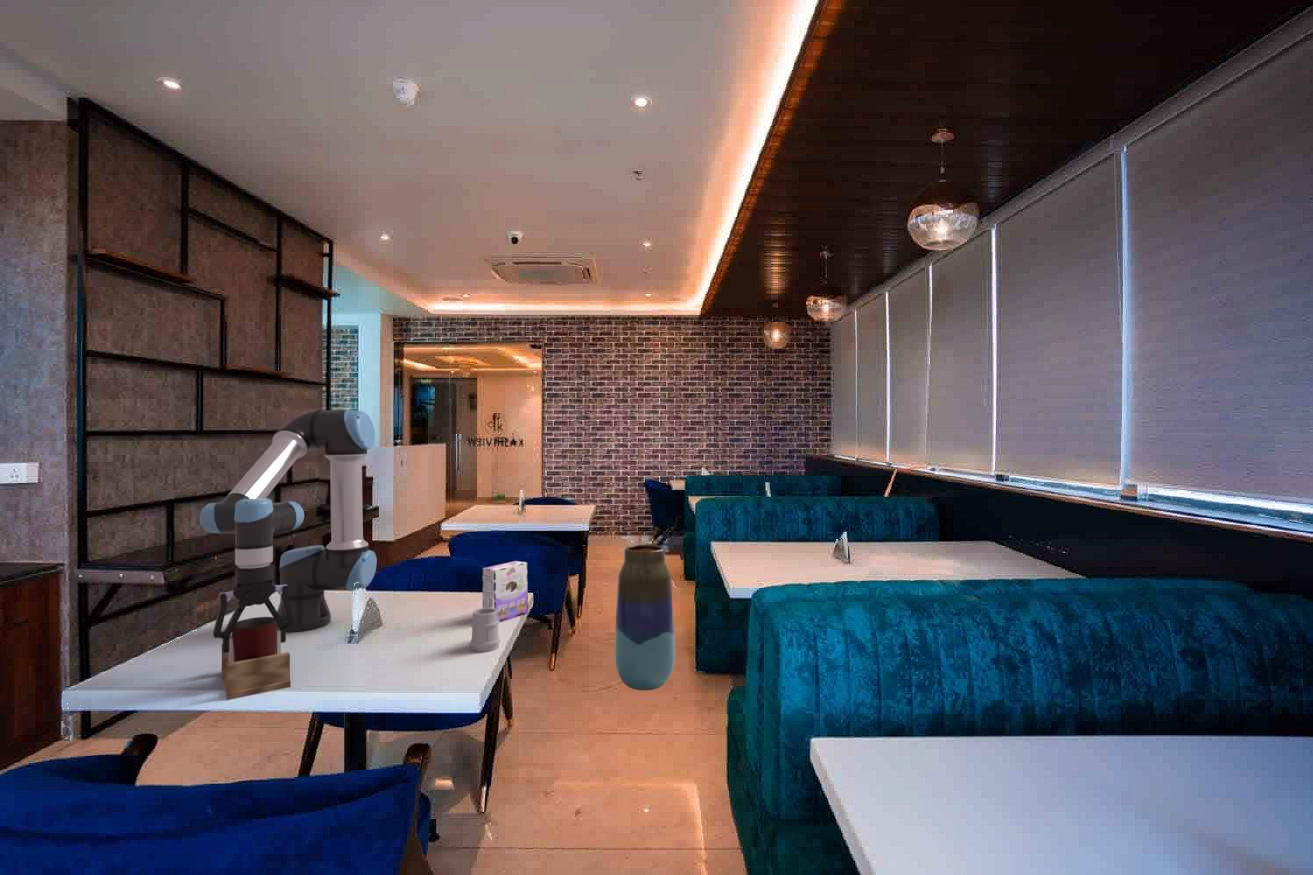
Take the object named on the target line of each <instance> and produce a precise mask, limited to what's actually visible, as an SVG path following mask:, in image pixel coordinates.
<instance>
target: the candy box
mask: <svg viewBox="0 0 1313 875" xmlns="http://www.w3.org/2000/svg"><path fill="white" fill-rule="evenodd" d="M528 581H529V580H528V562H526V561H518V560H514V561H509V562H505V563H501V564H497V565H492V566H488V567H482V608H483V609H484V608H489V602H490V598H491V597H494V605H495V609H496V610H497V617H498V620H499V623H500V622H503V621H506V620H511V619H512V618H513V619H514V618H516V617H519V616H522V615H525V614H528V613H529V600H528V599H529V596H528V595H529V594H528V593H529V589H528V584H529V583H528Z"/></svg>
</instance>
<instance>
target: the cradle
mask: <svg viewBox="0 0 1313 875" xmlns="http://www.w3.org/2000/svg"><path fill="white" fill-rule="evenodd" d="M233 661H234V662H232V663H229V652H227V653H224V651H223V643H221V676H222V677H221V678H222V681H223V685H224V689H225V695H226V700H227V701H230V700H233V699H238V698H243V697H248V696H253V695H257V694H262V693H267V692H271V691H276V690H281V689H287V688H290V687H291V682H292V681H291V654H290V652H289V651H288V652H281V654H276V644H275V655H271V656H265V657H260V658H254V659H249V660H243V661H238V662H235V657H234V648H233Z"/></svg>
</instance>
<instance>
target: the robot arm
mask: <svg viewBox="0 0 1313 875" xmlns="http://www.w3.org/2000/svg"><path fill="white" fill-rule="evenodd" d="M375 441H376V431H375V426H374V424H373V420H372V419H371V417H370V416H369V415H368V414H367V413H366V412H365V411H362V410H354V409H353V410H352V409H345V410H344V409H339V410H338V409H337V410H334V409H333V410H331V409H329V410H326V409H325V410H320V409H316V410H310V411H306V412H304V413H300V415H297V416H295V417H294V418H292V419H291V420H289V421H288V422H286V423H285V424H284V425H282V427H281V428H279V429H278V430H277V432H275V434H274V435H273V437H272V443H271V444H270V446H268V448H267V449H266V450H265V451H264V453H262V455H261V456H260V457H259V458H258V459H257V461H256V462H255V463H254V464H253V465H252V466H251V468H249V470H248V471H247V472H246V474H244V476H243V477H242V478H241V479H240V480H239V481H238V482H237V484H236V485H235V486H234V487H233V489H231V491H230V492H229V493H228V494H227V496H226V497H225V498H224V499H223V500H222V501H221V502H210V503H207V504H206V505H205V506H203V507H202V509H201V511H200V515H199V524H200V525H201V528H202V530H204V531H205V532H207V533H212V534H220V535H221V534H223V535H224V534H234V535H235V537H234V538H235V542H234V543H235V545H234V546H235V548H234V552H235V553H234V562H235V563H234V564H235V566H237V567H236V568H234V570H235V571H234V573H235V574H234V577H235V579H234V580H235V581H234V582H235V584H234V588H233V590H229V591H220V592H219V594H218V596H219V601H220V603H219V608H218V611H217V616H216V618H215V622H214V628H213V630H212V631H213V632H212V634H213V638H215V639H222V644H223V651H224V653H227V652H229V663H232V662H234V661H233V639H232V626H233V627H235V625H236V623H237V622H238V621H240V617H241V616H242V614H243V612H244V611H245V609H246V607H253V606H255V605H256V606H260V605H263V604H265V606H266V608H267V610H268V611H269V612H270V614H271V617H274V619H277V629H276V654H281V653H282V651H281V650H282V648H281V646H282V644H283V643H286V641H287V635H286V634H287V632H288V633H289V632H290V633H292V632H304V631H309V630H314V629H318V628H320V627H321V628H322V627H324V626H327V625H329V624H330V623H331V622H332V614H331V611H330V608H329V605H328V603H327V600H326V598H325V591H348V592H351V591H359V590H358V589H359V588H362V590H364V589H366V588H367V587H368V586H369V585H370V583H371V582H372V581H373V579H374V576H375V574H376V569H377V564H378V562H377V560H378V559H377V558H378V557H377V556H376V553H375V551H373V550H370V549H369V543H368V541H366V540H365V539H364V527H363V526H364V524H363V522H364V521H363V517H364V516H363V459H365V458H366V456H367V455H368V450H370V449H372V448H373V446H374V445H375ZM312 450H324V451H323V452H324V454H323V455H324V457H325V458H326V459H327V460H328V461H329V464H330V465H329V468H330V469H329V470H330V480H329V482H330V528H331V529H330V533H331V534H330V535H331V537H330V538H331V540H330V542H329V543H328V544H326V546H324V545H320V544H319V545H318V544H317V545H310V546H304V547H299V548H294V549H291V550H288V551H285V552H283V553H282V554H281V556H280V560H279V582H280V584H279V585H278V584H275V583H274V565H273V564H272V563H273V561H274V548H273V547H274V544H273V539H274V536H275V535H279V534H282V533H284V534H285V533H290V532H292V531H293V530H296V529H298V528H299V527H301V525H302V524H303V522H304V519H305V512H304V509H303V507H302V506H301V505H300V504H299V503H297V502H295V501H290V500H289V501H280V502H273V501H272V499H270V498H267V497H269V495H270V494H271V492H272V490H273V489H274V488H275V487H276V486H277V485H278V484H279V482H280V480H282V478H283V477H284V476H285V475H286V473H287V472H288V470H290V468H291V467H292V466H293V464H294V463H295V462H296V461H297V460H298V459H300V458H303V457H304V456H305V455H306V454H308V452H310V451H312ZM356 582H359V583H356ZM354 583H356V584H355V586H354ZM356 588H357V590H356ZM275 591H277V594H278V595H279V596H280V598H279V599H280V601H279V604H278V607H277V609H276V608H275V606H274V604H273V602H272V601H271V599H270V597H271V596H272V595H273V593H274V592H275ZM232 597H235V598H236V599H237V600H238V602H237V605H236V607H235V609H234V612H233V613H232V615H231V617H230V619H229V620H228V623H227V625H226V626H225V629H224V630H222V628H223V624H224V619H225V617H226V616H225V615H226V611H227V608H228V602H230V601H231V598H232Z"/></svg>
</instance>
